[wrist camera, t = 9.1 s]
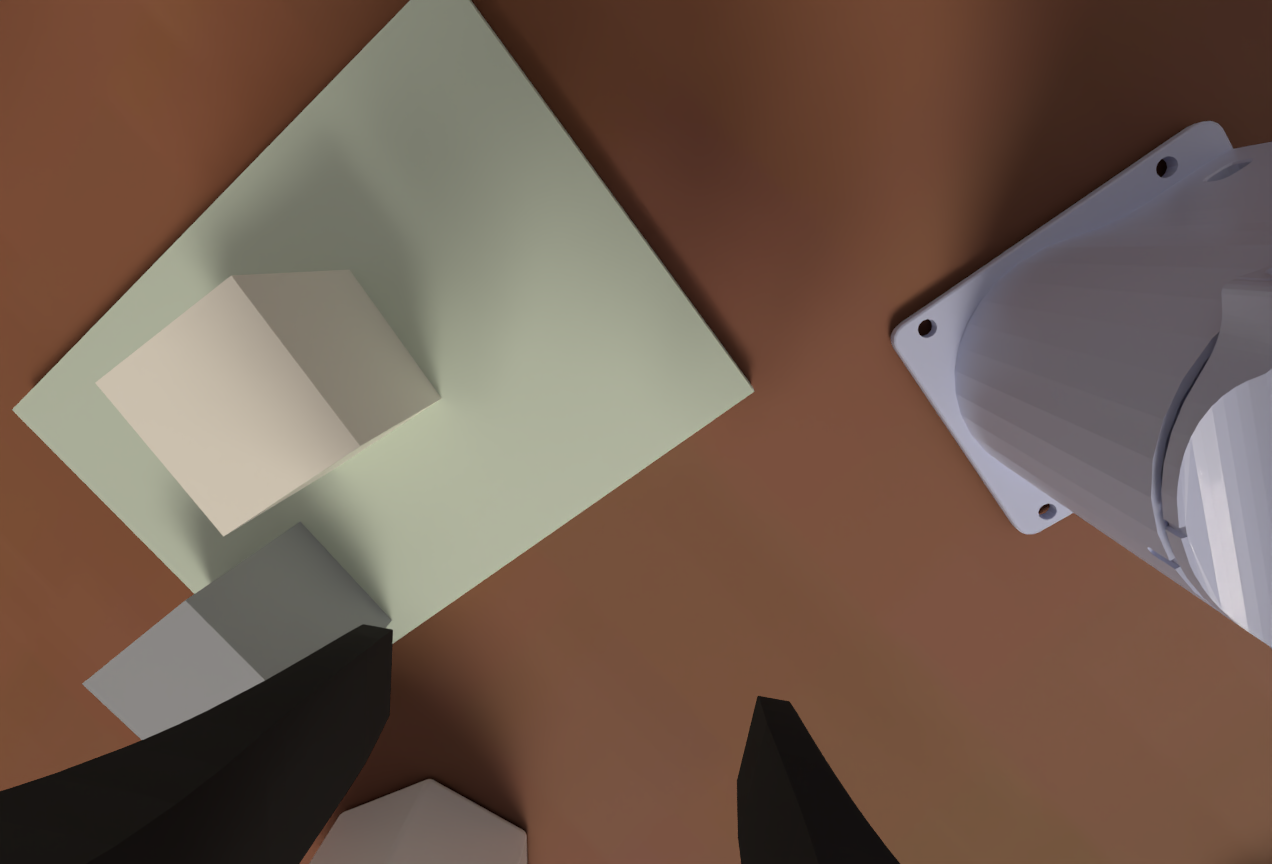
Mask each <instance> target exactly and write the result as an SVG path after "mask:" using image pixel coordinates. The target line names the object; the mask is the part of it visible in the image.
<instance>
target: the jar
mask: <svg viewBox="0 0 1272 864" xmlns="http://www.w3.org/2000/svg"><path fill="white" fill-rule="evenodd" d="M309 864H527V835H526V832H525V831H524V830H522V829H521V828H519V827H517V826H515V825H513V824H512V823H510V822H508V821H506V820H505V819H503V818H501V817H499V816H497V815H496V814H494V813H492V812H490V811H488V810H487V809H485V808H483V807H481V806H479V805H478V804H476V803H474V802H472V801H470V800H469V799H467V798H465V797H463V796H462V795H460V794H458V793H456V792H454V791H453V790H451V789H449V788H447V787H445V786H444V785H442V784H440V783H438V782H436V781H435V780H433V779H426V780H424V781H421V782H419V783H416V784H414V785H411V786H409V787H406V788H404V789H401V790H398V791H396V792H393V793H391V794H388V795H386V796H383V797H381V798H378V799H376V800H373V801H370V802H368V803H365V804H363V805H360V806H358V807H355V808H352V809H350V810H347V811H345V812H343V813H341V814H340V815H339V817H338V818H337V820H336V821H335V823H334V825H333V826H332V828H331V829H330V831H329V833H328V834H327V836H326V837H325V839H324V841H323V842H322V844H321V845H320V847H319V849H318V850H317V852H316V853H315V855H314V857H313V858H312V860H311V861H310V863H309Z"/></svg>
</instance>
